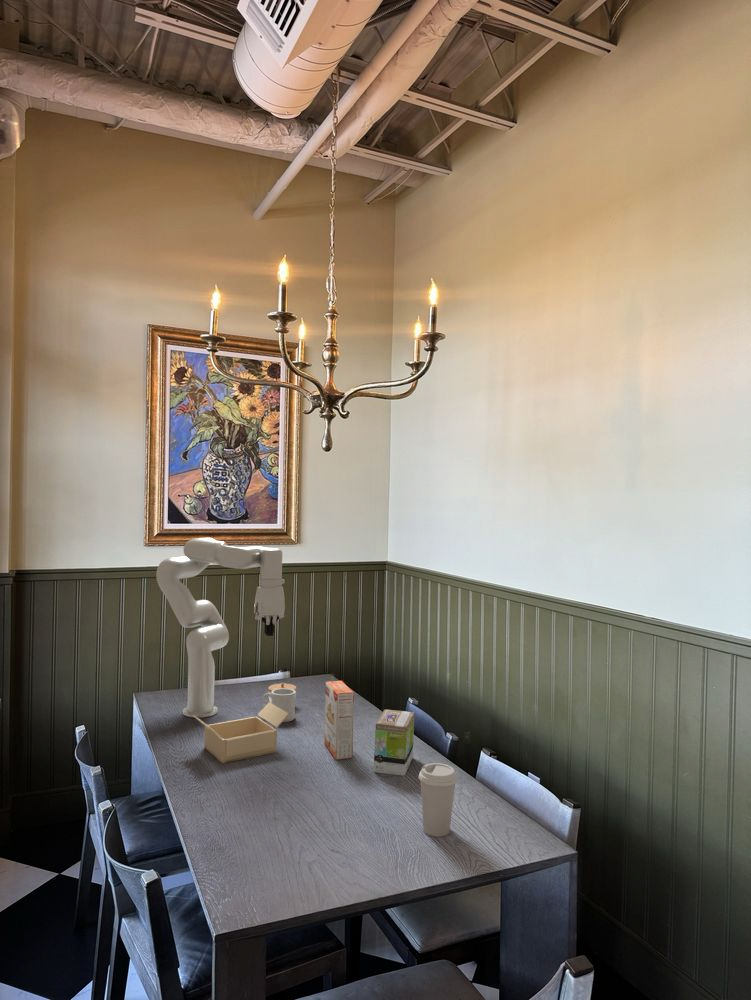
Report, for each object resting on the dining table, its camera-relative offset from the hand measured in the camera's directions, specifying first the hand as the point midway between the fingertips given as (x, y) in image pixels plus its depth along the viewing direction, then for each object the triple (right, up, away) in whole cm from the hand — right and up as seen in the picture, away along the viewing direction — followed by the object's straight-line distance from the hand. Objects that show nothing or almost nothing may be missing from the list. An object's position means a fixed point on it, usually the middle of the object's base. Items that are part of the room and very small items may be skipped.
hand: (269, 635), depth 236 cm
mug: (+2, -32, +8) cm, 33 cm away
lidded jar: (+1, -32, +21) cm, 39 cm away
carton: (-6, -32, -23) cm, 40 cm away
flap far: (+4, -23, -16) cm, 28 cm away
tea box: (+43, -34, -31) cm, 63 cm away
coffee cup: (+52, -34, -71) cm, 95 cm away
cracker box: (+25, -33, -22) cm, 47 cm away
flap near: (-14, -22, -29) cm, 39 cm away
